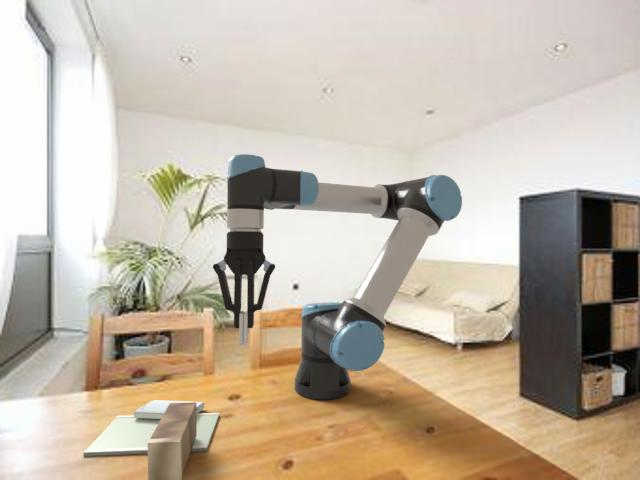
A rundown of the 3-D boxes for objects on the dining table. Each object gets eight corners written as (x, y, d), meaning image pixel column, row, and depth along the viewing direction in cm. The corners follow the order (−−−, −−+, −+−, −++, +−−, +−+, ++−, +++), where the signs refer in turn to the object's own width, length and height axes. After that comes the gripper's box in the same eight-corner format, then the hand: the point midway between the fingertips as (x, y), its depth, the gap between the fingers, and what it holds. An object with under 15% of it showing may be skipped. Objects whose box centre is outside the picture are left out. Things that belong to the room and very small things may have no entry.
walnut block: (196, 402, 73) (179, 441, 61) (196, 436, 74) (180, 481, 62) (169, 402, 73) (147, 442, 61) (170, 437, 73) (148, 483, 61)
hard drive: (133, 411, 81) (188, 413, 80) (154, 399, 89) (204, 400, 88) (133, 419, 81) (188, 421, 79) (154, 406, 89) (204, 408, 87)
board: (219, 415, 84) (219, 412, 84) (206, 451, 70) (206, 447, 70) (117, 418, 82) (117, 415, 82) (83, 456, 68) (83, 452, 68)
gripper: (277, 231, 82) (275, 338, 82) (216, 230, 81) (214, 338, 81) (276, 230, 75) (275, 348, 75) (209, 229, 73) (207, 349, 74)
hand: (243, 343), depth 78 cm, fingers closed
